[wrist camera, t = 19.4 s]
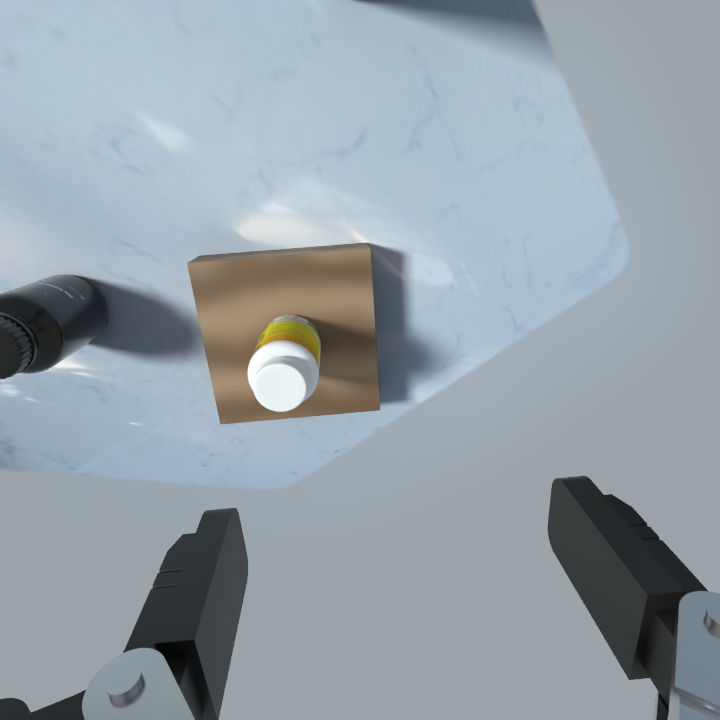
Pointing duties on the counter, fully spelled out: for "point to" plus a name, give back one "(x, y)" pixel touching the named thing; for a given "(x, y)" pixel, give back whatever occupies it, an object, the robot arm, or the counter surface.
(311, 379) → the supplement bottle
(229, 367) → the walnut block
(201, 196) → the counter surface
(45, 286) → the supplement bottle
